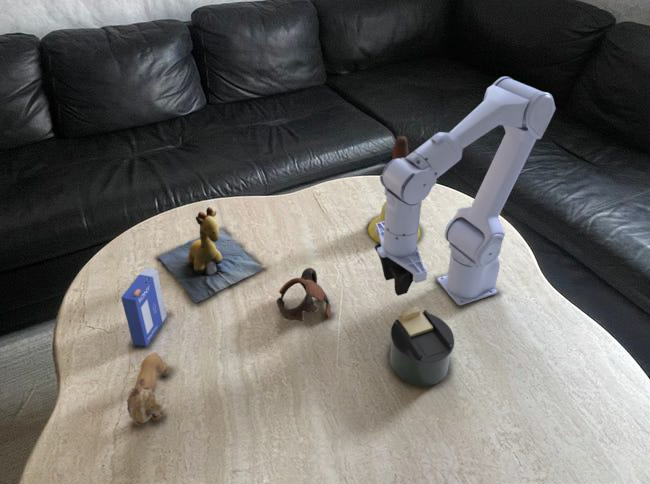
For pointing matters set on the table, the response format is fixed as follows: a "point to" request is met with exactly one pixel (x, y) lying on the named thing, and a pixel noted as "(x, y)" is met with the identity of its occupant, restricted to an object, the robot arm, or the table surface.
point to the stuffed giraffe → (209, 260)
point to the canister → (422, 352)
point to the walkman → (144, 306)
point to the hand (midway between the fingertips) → (395, 285)
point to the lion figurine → (146, 391)
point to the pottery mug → (307, 305)
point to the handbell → (398, 152)
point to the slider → (414, 322)
